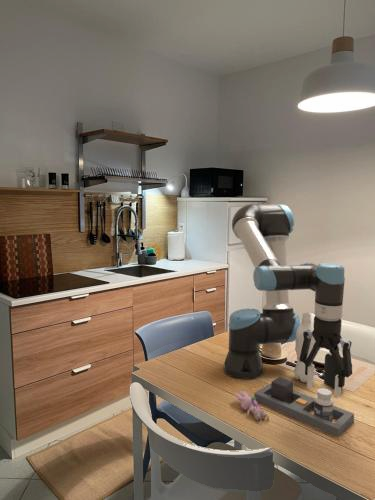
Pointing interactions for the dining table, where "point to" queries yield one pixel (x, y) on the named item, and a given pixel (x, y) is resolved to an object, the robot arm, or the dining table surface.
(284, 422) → the dining table surface
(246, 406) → the rabbit figure
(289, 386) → the gray rectangular open frame
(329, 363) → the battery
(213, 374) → the dining table surface
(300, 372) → the water bottle
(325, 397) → the pill bottle
